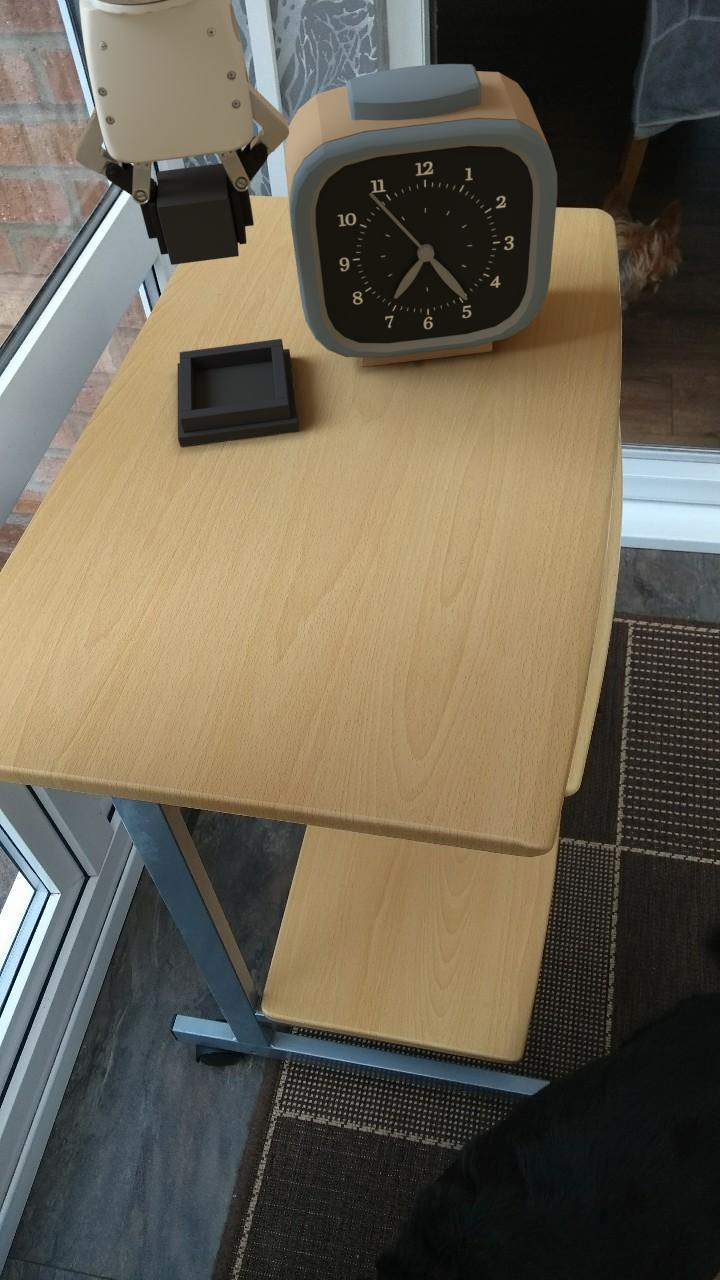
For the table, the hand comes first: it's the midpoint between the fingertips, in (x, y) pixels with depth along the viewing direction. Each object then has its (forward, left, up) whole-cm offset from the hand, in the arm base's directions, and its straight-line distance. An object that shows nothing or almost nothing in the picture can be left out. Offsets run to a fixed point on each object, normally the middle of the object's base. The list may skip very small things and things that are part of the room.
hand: (203, 237), depth 76 cm
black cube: (0, 0, 0) cm, 0 cm away
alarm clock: (+17, +6, -16) cm, 24 cm away
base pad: (0, 0, -16) cm, 16 cm away
